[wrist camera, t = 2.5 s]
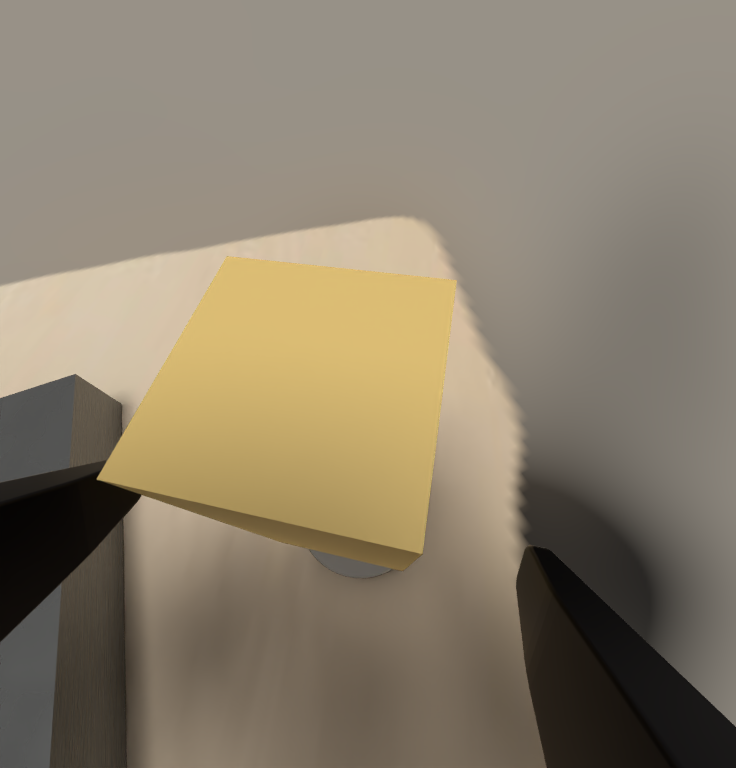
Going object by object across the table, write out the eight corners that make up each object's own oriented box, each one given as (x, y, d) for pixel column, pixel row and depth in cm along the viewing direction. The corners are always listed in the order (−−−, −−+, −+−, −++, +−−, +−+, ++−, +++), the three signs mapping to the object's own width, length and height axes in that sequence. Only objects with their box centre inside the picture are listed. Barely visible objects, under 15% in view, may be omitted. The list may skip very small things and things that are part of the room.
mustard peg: (411, 592, 15) (472, 630, 4) (289, 561, 16) (29, 516, 4) (428, 465, 18) (493, 260, 6) (322, 445, 18) (211, 233, 7)
